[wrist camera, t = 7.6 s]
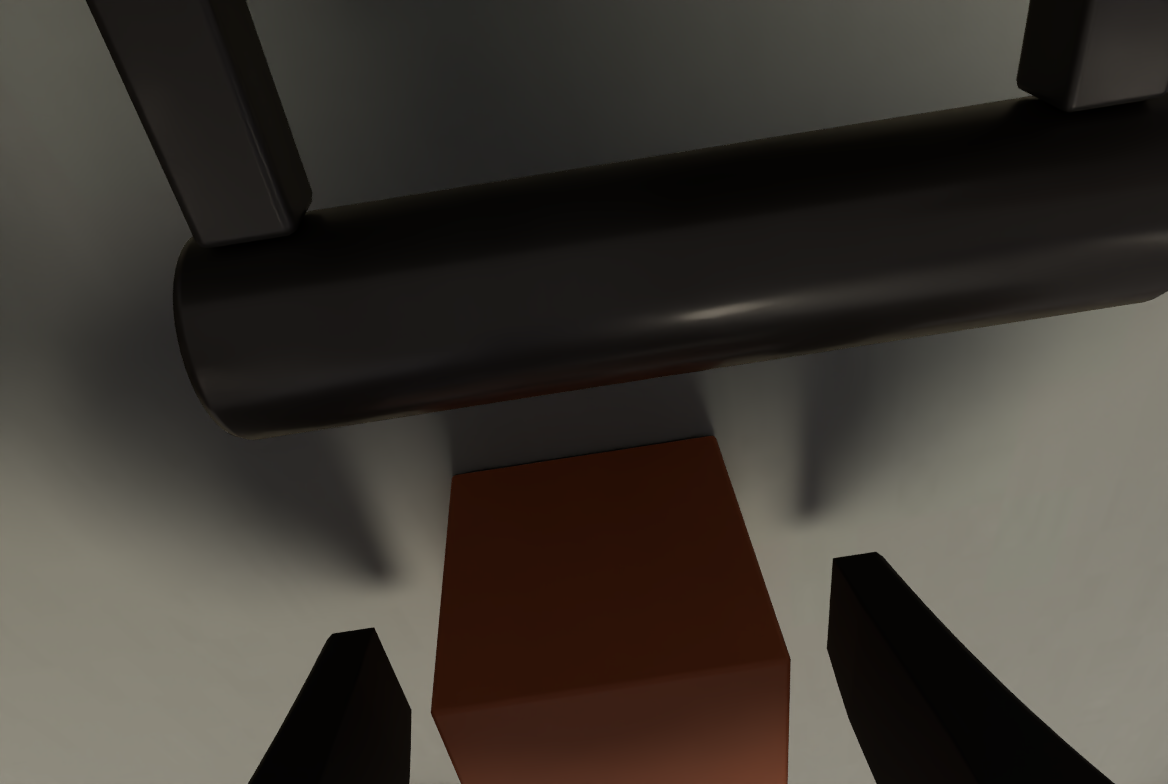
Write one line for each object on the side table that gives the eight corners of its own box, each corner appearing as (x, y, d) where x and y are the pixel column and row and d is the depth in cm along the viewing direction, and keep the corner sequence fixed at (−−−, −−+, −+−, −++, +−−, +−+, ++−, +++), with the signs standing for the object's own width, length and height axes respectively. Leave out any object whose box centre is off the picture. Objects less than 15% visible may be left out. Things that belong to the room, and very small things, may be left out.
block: (724, 607, 14) (787, 838, 11) (502, 640, 14) (499, 880, 11) (715, 432, 12) (792, 660, 9) (451, 473, 12) (428, 714, 9)
